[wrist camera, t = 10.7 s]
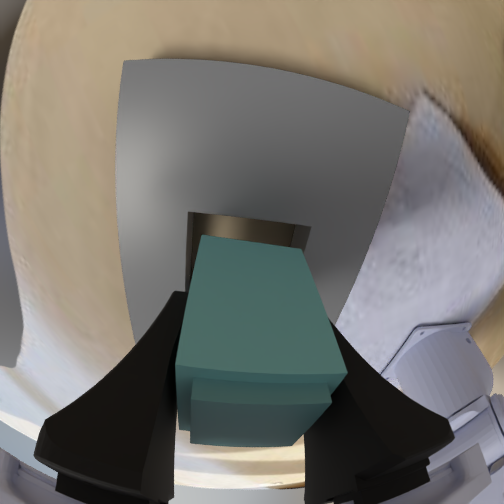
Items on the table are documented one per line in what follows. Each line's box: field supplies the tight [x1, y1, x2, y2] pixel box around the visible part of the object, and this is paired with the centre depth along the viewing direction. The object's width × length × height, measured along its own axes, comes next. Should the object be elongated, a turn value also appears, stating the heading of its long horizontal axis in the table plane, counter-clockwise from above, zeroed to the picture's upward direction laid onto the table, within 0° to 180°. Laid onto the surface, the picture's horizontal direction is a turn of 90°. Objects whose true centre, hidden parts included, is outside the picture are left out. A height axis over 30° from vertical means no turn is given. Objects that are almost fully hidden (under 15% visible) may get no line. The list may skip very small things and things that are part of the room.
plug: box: [175, 235, 347, 447], centre depth 9 cm, size 4×4×7 cm
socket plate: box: [115, 59, 410, 344], centre depth 14 cm, size 12×18×2 cm, turn 171°
